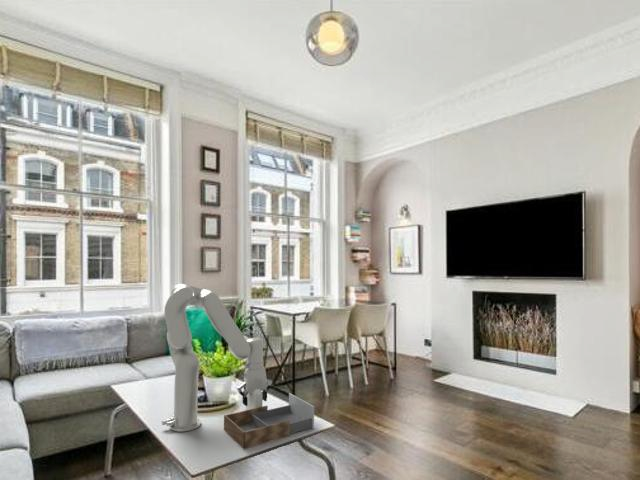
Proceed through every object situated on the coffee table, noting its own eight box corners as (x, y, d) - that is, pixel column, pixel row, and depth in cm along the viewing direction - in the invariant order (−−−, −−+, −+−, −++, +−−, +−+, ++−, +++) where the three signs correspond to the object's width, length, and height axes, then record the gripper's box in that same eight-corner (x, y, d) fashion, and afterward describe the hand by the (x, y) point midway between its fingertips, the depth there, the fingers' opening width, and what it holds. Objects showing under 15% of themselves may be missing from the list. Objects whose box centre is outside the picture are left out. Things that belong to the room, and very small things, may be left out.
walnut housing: (243, 449, 152) (244, 432, 152) (223, 430, 168) (224, 415, 168) (289, 435, 163) (289, 420, 163) (266, 419, 180) (266, 405, 180)
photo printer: (244, 411, 188) (244, 384, 189) (252, 409, 191) (252, 382, 192) (255, 418, 181) (255, 390, 181) (263, 416, 183) (264, 388, 184)
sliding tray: (272, 440, 159) (272, 416, 159) (250, 422, 175) (250, 401, 175) (314, 428, 170) (314, 406, 170) (289, 412, 186) (290, 393, 187)
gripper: (240, 370, 179) (240, 409, 178) (275, 364, 189) (275, 401, 188) (234, 366, 185) (234, 404, 184) (267, 360, 195) (267, 396, 194)
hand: (255, 402), depth 186 cm, fingers open, 9 cm apart
